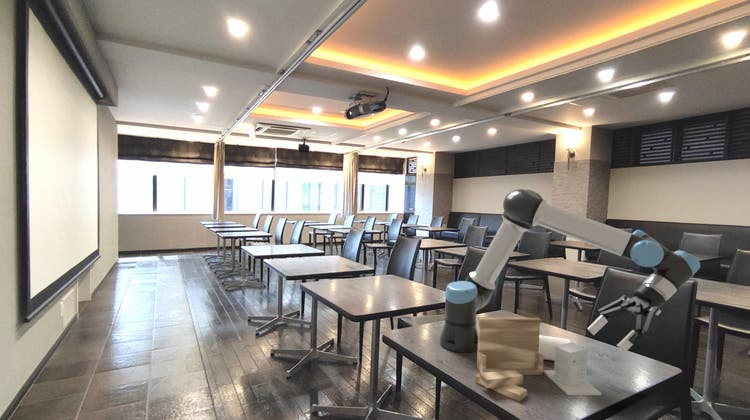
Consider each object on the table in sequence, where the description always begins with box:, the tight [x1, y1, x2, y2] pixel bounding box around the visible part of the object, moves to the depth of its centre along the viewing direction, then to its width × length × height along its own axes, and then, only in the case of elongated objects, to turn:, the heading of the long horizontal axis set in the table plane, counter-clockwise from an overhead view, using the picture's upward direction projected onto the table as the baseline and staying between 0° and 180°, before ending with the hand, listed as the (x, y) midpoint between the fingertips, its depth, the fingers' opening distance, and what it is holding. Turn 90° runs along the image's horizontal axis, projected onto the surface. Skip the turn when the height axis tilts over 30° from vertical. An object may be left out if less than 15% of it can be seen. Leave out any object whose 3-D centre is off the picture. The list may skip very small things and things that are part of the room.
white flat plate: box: [543, 369, 602, 396], centre depth 112 cm, size 14×10×1 cm
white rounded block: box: [539, 334, 572, 362], centre depth 130 cm, size 12×10×8 cm
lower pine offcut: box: [474, 372, 528, 403], centre depth 107 cm, size 14×4×2 cm, turn 42°
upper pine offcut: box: [479, 370, 524, 389], centre depth 107 cm, size 12×4×2 cm, turn 104°
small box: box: [553, 341, 589, 387], centre depth 112 cm, size 8×6×10 cm
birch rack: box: [476, 316, 545, 376], centre depth 118 cm, size 5×21×17 cm, turn 93°
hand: (604, 340), depth 112 cm, fingers open, 13 cm apart
